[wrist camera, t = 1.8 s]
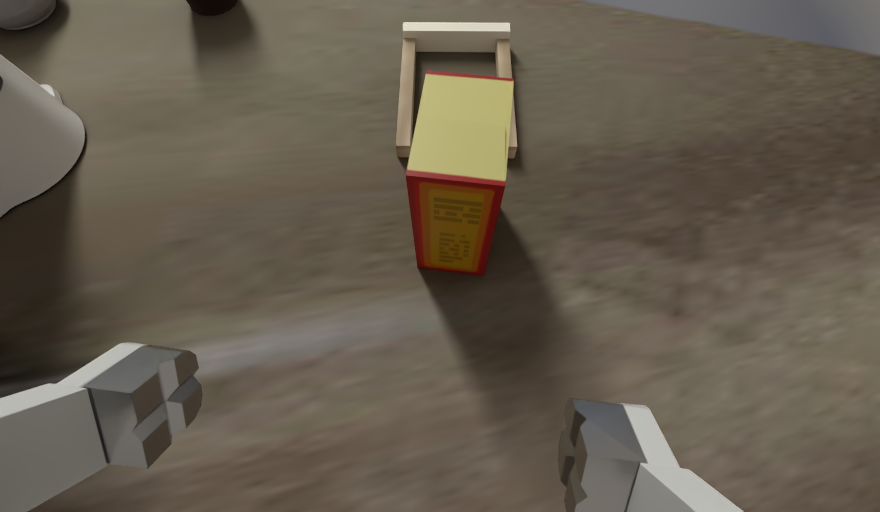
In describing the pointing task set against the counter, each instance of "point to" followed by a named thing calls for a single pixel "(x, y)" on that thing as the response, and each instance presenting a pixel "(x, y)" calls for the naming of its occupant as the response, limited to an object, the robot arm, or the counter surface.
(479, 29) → the slot rack
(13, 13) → the coffee pot
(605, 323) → the counter surface
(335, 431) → the counter surface
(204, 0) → the coffee mug
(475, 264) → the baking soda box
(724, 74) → the counter surface
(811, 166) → the counter surface
